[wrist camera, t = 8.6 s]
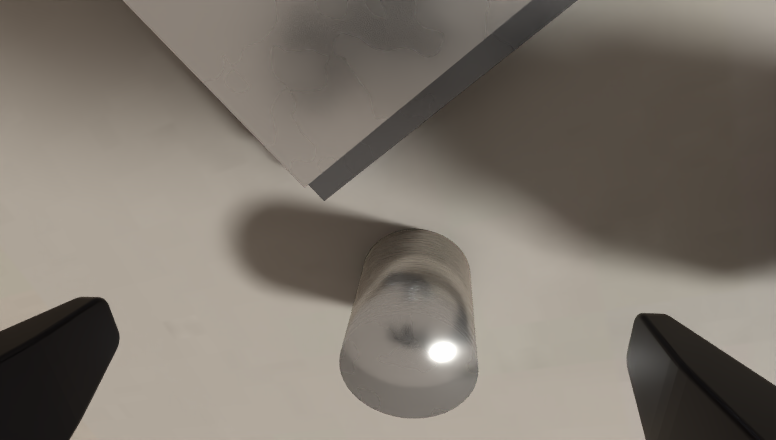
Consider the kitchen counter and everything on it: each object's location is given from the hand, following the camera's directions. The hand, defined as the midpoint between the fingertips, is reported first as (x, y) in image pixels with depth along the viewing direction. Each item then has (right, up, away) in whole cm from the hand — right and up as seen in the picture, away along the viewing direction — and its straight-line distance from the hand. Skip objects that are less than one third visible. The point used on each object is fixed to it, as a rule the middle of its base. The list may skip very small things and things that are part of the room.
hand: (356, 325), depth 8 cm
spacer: (+2, -1, +15) cm, 15 cm away
